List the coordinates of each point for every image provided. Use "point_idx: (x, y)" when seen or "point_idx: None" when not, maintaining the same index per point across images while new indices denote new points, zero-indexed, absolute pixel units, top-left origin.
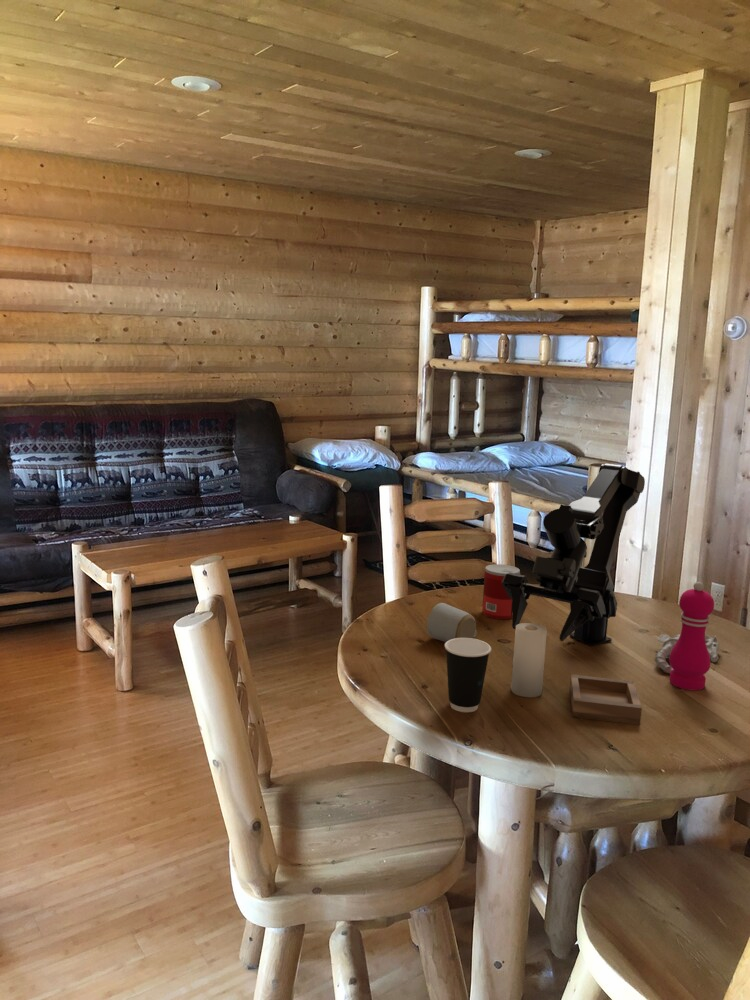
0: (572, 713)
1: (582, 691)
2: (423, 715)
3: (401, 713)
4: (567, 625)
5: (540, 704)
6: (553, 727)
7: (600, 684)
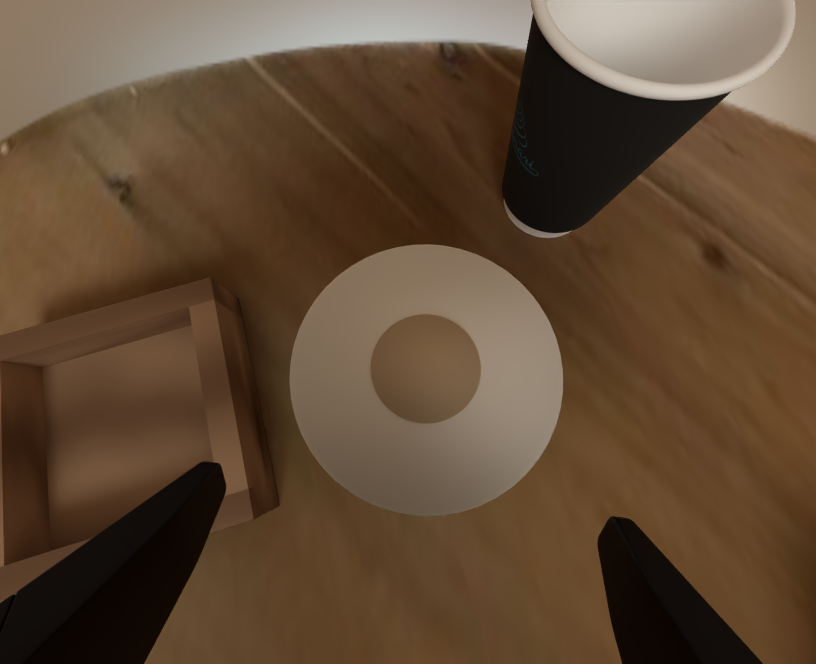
0: (237, 306)
1: None
2: None
3: None
4: (87, 555)
5: None
6: (279, 212)
7: None
